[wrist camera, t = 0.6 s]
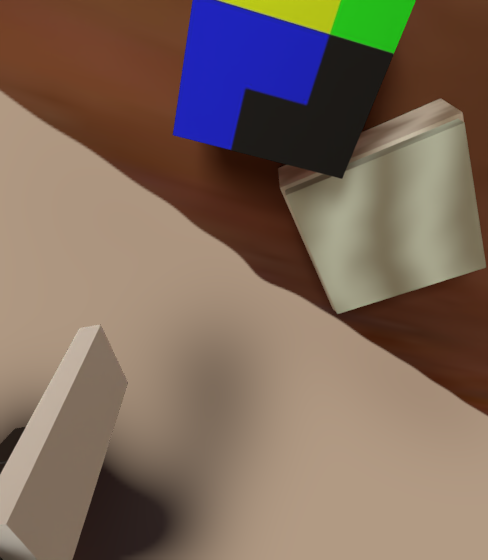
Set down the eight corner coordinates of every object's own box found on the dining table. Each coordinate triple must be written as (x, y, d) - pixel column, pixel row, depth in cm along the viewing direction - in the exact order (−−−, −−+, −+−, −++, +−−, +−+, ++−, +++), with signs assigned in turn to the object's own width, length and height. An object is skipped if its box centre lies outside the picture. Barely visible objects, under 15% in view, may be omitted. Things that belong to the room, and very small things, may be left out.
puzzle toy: (195, 95, 31) (172, 135, 23) (223, -75, 25) (207, -102, 17) (320, 129, 32) (342, 178, 24) (375, -25, 26) (427, -29, 18)
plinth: (440, 98, 30) (468, 116, 26) (465, 237, 37) (490, 268, 33) (277, 168, 34) (280, 193, 30) (327, 284, 41) (335, 317, 37)
